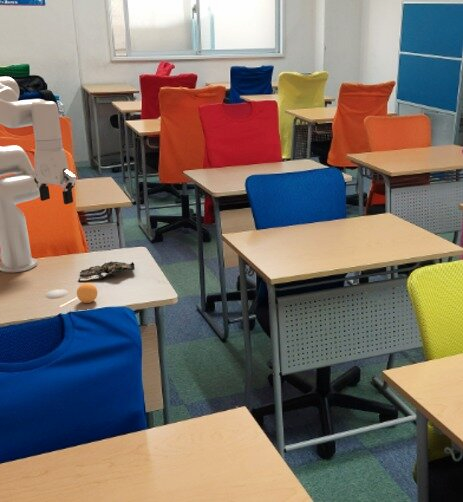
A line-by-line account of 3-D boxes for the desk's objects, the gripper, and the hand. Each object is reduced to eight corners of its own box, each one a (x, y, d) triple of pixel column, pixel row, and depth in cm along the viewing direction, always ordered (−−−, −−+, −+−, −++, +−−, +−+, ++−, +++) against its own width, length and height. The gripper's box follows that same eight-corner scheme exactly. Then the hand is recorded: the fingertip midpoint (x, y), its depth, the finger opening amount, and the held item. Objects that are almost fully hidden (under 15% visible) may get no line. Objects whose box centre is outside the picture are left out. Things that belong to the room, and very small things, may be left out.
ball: (73, 303, 183) (71, 285, 181) (87, 296, 188) (85, 277, 185) (88, 308, 180) (86, 289, 178) (102, 300, 185) (100, 282, 182)
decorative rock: (77, 276, 194) (73, 257, 207) (80, 293, 197) (76, 273, 210) (136, 264, 199) (128, 246, 212) (139, 280, 202) (131, 262, 215)
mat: (30, 301, 187) (30, 299, 186) (68, 282, 199) (68, 281, 199) (79, 314, 177) (78, 312, 177) (115, 294, 190) (115, 292, 189)
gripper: (18, 145, 181) (27, 201, 187) (61, 149, 173) (68, 207, 179) (38, 141, 187) (45, 195, 193) (80, 144, 179) (86, 201, 185)
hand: (56, 201), depth 186 cm, fingers open, 9 cm apart
